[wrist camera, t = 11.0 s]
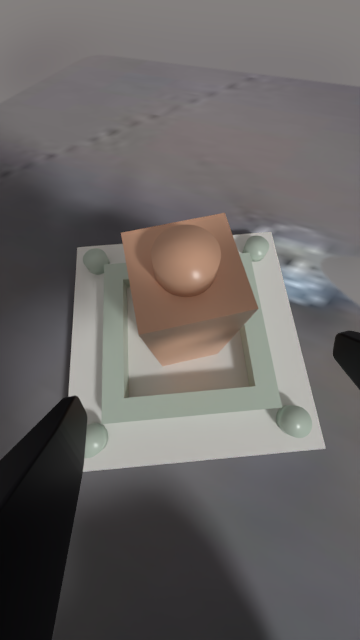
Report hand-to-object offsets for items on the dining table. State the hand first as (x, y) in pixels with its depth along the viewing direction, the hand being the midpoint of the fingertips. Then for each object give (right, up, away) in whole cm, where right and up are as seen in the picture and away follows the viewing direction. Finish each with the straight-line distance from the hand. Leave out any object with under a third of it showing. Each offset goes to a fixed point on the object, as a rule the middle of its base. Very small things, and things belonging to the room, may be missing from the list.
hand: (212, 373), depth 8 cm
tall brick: (-1, +1, +11) cm, 11 cm away
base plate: (-1, 0, +12) cm, 12 cm away
